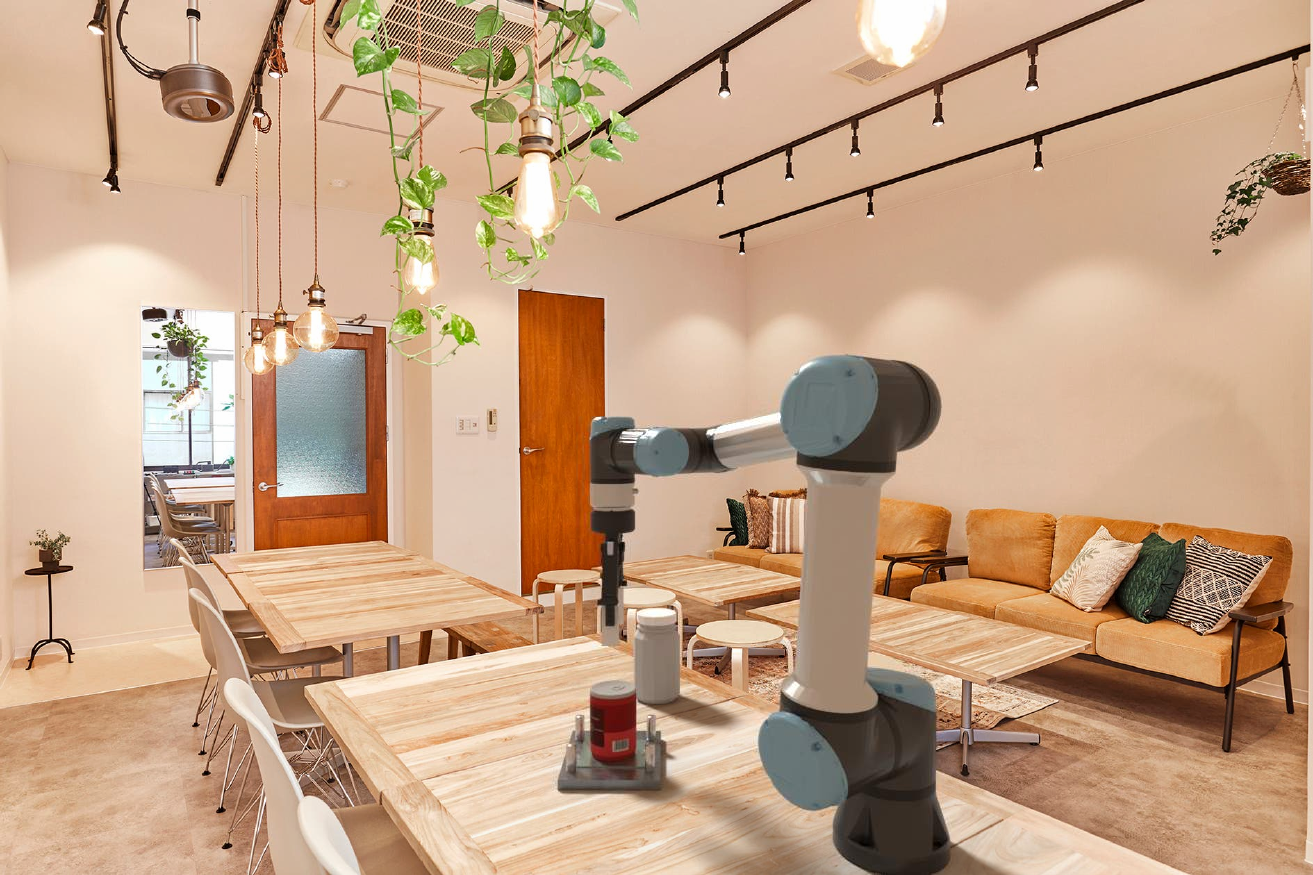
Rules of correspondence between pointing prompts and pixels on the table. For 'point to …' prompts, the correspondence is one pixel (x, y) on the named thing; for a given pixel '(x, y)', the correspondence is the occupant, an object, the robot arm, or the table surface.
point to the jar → (656, 656)
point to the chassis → (612, 763)
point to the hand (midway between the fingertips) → (613, 634)
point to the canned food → (613, 720)
